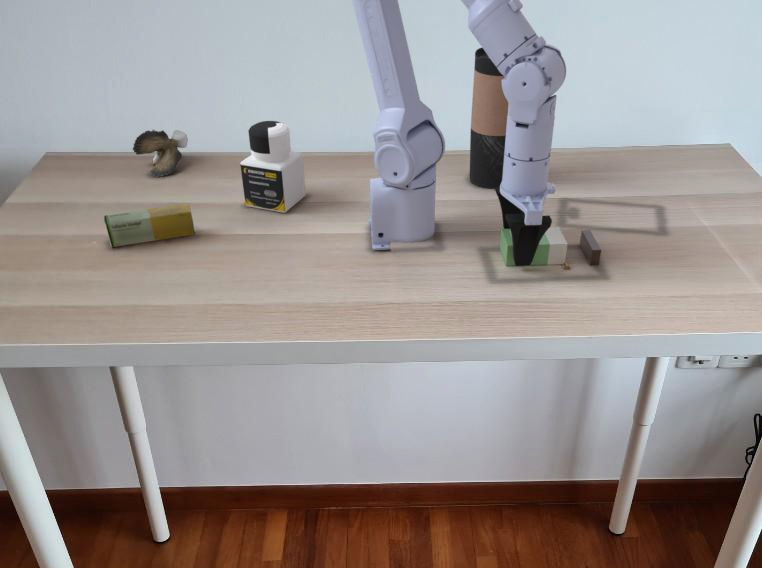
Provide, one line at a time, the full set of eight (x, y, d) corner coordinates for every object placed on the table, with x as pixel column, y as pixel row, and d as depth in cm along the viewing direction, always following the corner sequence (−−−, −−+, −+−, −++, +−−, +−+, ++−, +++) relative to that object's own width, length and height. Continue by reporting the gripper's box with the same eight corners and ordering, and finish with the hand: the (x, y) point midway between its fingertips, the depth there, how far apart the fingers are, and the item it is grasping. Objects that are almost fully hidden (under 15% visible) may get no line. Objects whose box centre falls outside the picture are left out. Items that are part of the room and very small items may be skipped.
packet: (505, 266, 107) (507, 245, 105) (499, 248, 111) (501, 228, 109) (564, 264, 108) (567, 243, 106) (556, 246, 112) (559, 226, 110)
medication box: (110, 249, 114) (103, 224, 111) (109, 239, 116) (102, 214, 113) (196, 235, 117) (191, 210, 114) (193, 225, 119) (188, 201, 116)
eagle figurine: (142, 149, 141) (123, 159, 133) (160, 114, 138) (141, 121, 130) (181, 174, 143) (164, 185, 135) (199, 140, 140) (183, 149, 132)
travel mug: (522, 177, 134) (534, 49, 121) (501, 193, 129) (512, 61, 116) (481, 167, 137) (489, 42, 125) (459, 182, 132) (465, 54, 120)
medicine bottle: (244, 206, 125) (234, 129, 118) (267, 189, 130) (259, 114, 123) (285, 214, 123) (277, 136, 115) (306, 196, 128) (300, 120, 121)
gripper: (572, 174, 95) (558, 276, 103) (546, 131, 106) (536, 226, 115) (513, 176, 95) (504, 278, 103) (494, 133, 106) (487, 228, 114)
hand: (517, 251), depth 109 cm, fingers open, 7 cm apart
